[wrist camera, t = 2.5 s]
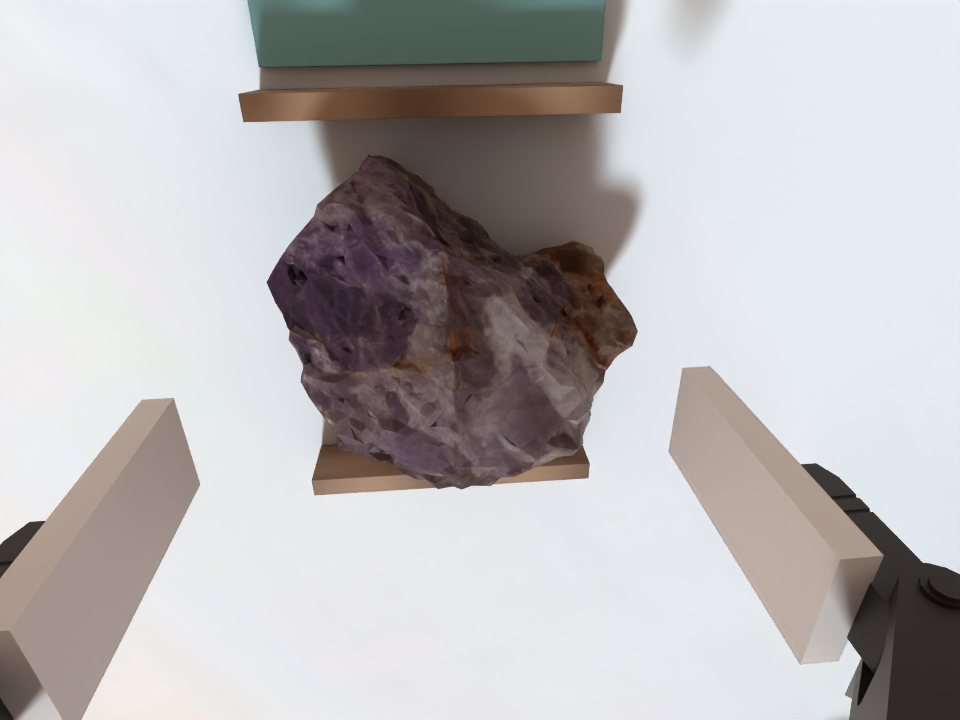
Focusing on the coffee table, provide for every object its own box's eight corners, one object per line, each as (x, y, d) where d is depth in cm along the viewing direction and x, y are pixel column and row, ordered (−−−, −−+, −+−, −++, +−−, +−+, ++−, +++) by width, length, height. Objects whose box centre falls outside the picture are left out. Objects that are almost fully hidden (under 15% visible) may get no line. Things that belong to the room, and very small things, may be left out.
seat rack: (653, -619, 14) (697, -747, 12) (576, 444, 28) (588, 478, 26) (131, -645, 13) (70, -787, 11) (323, 459, 27) (314, 495, 25)
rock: (405, 109, 22) (281, 318, 25) (348, 93, 14) (178, 403, 17) (645, 285, 24) (503, 457, 27) (716, 360, 16) (503, 592, 19)
